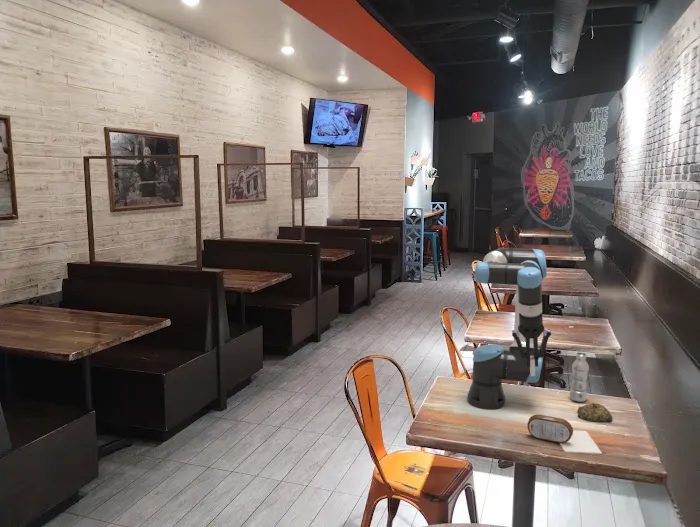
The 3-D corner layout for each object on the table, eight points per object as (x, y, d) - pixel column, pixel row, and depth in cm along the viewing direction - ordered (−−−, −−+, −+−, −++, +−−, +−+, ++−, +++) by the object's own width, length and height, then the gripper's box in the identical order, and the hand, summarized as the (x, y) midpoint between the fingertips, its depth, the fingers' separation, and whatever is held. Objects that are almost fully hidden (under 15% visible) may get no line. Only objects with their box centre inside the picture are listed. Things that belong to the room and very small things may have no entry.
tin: (573, 442, 192) (573, 419, 191) (571, 446, 190) (571, 423, 188) (528, 433, 200) (528, 411, 199) (526, 437, 197) (526, 415, 196)
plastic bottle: (585, 398, 232) (588, 352, 229) (587, 404, 225) (591, 357, 222) (568, 396, 234) (572, 350, 230) (570, 402, 227) (573, 355, 224)
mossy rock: (613, 425, 208) (615, 412, 207) (578, 421, 211) (579, 408, 210) (608, 411, 220) (609, 399, 219) (574, 407, 223) (575, 395, 223)
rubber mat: (564, 452, 187) (564, 451, 187) (552, 430, 203) (552, 429, 202) (601, 454, 186) (602, 452, 186) (586, 432, 202) (586, 430, 201)
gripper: (511, 318, 185) (514, 380, 193) (552, 317, 182) (553, 379, 190) (509, 309, 192) (512, 368, 200) (549, 307, 189) (550, 368, 197)
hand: (532, 373), depth 195 cm, fingers closed
